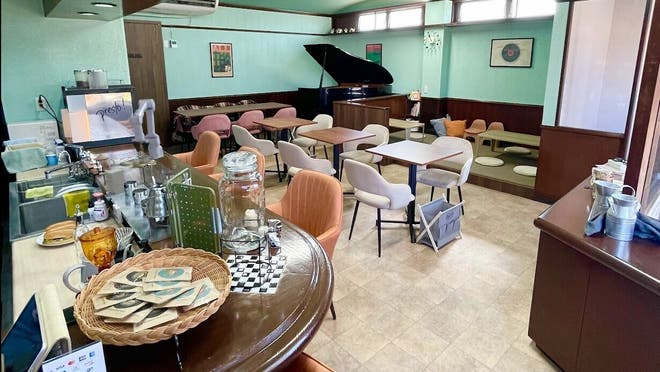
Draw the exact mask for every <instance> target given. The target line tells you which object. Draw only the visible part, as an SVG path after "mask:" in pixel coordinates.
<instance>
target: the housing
mask: <svg viewBox="0 0 660 372" xmlns="http://www.w3.org/2000/svg"><path fill="white" fill-rule="evenodd" d="M149 157H150V154H148V155H147V154H145V155H140V156H138V157H137V158H136V159H139V161H140V162H139V164H145V163H148V162H151V161H152V160H151V159H149ZM150 160H151V161H150Z"/></svg>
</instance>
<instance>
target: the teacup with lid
mask: <svg viewBox="0 0 660 372" xmlns="http://www.w3.org/2000/svg"><path fill="white" fill-rule="evenodd" d="M93 159H94V161H95V160H96V161H98V162H100V163H101V165H102V166H103V169H104V170H112V167H113V166H115V163H116V161H115V159H113V158H110V157H109V155H108V156H107V155H103V154H102V153H100V154H99V155H98V156H96V157H95V158H93ZM110 161H113V163H112V164H111V162H110Z"/></svg>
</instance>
